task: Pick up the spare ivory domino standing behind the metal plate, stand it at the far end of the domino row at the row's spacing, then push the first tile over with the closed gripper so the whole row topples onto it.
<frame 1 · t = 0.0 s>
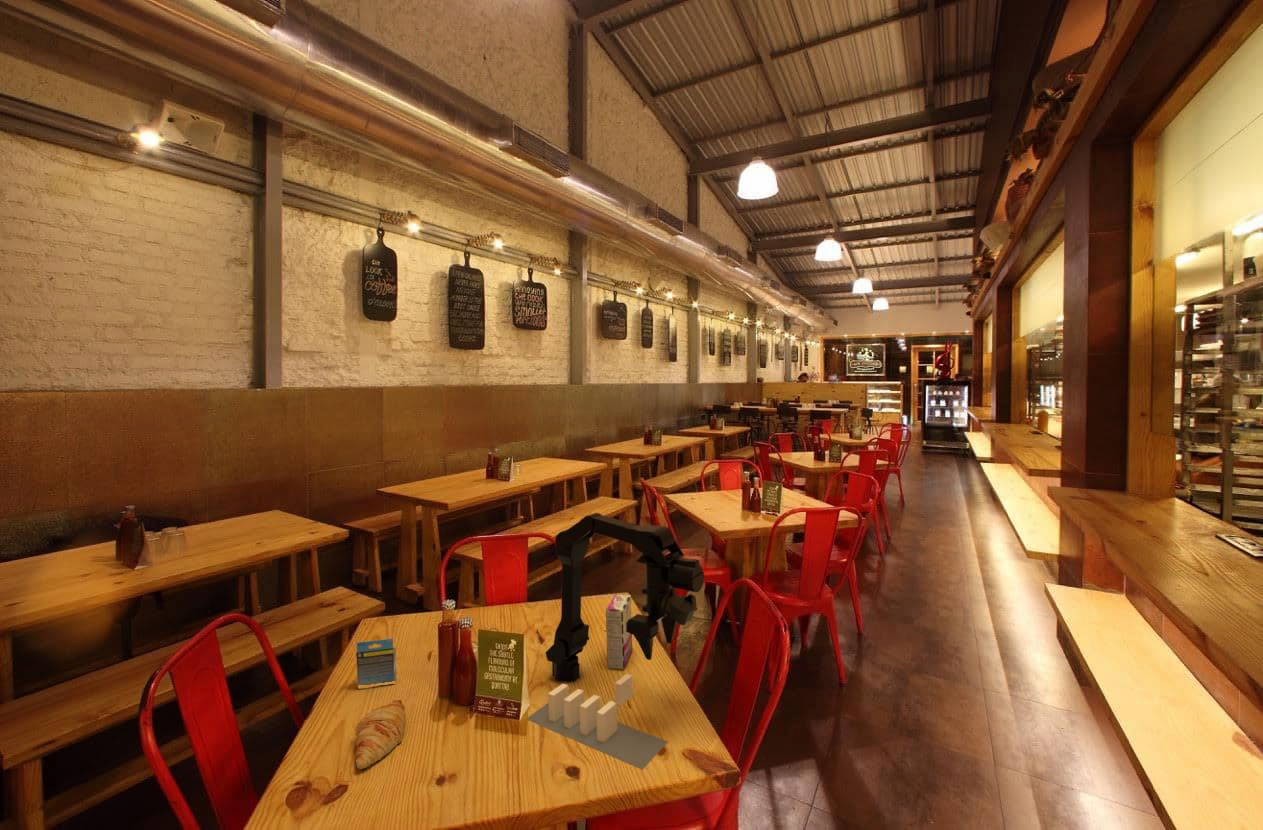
hand: (659, 651, 124), 15 cm above the table, fingers open, 9 cm apart
domino 1: (559, 715, 123), point 1 cm above the table, touching metal plate
domino 3: (590, 728, 118), point 1 cm above the table, touching metal plate
metal plate: (594, 734, 118), on the table
label tape box: (377, 685, 140), on the table
croissant: (380, 742, 117), on the table
domino 4: (607, 735, 116), point 1 cm above the table, touching metal plate
candy bar box: (619, 660, 151), on the table
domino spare: (624, 704, 129), on the table
domino 2: (574, 721, 121), point 1 cm above the table, touching metal plate
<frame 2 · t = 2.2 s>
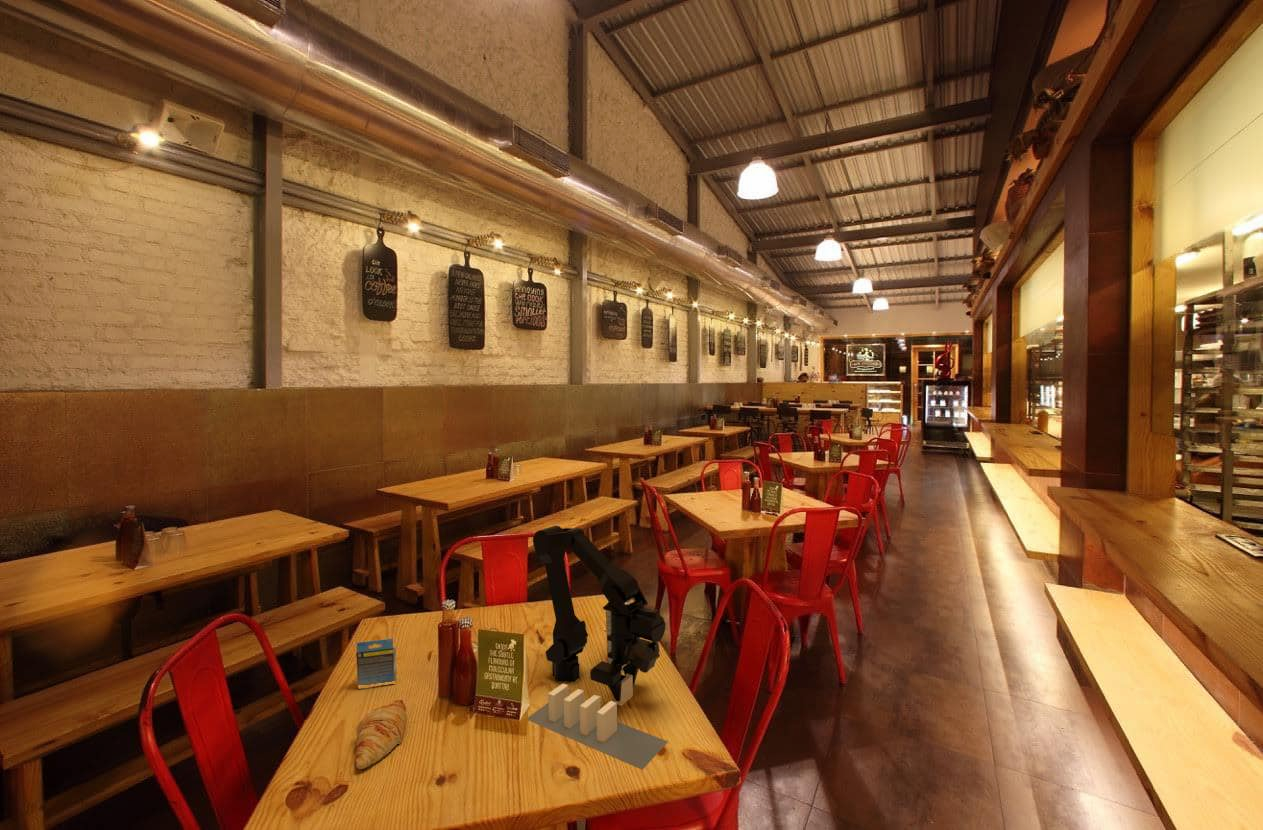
hand: (624, 695, 129), 2 cm above the table, fingers closed on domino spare, 5 cm apart
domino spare: (624, 703, 129), on the table, touching gripper
everything else where it was.
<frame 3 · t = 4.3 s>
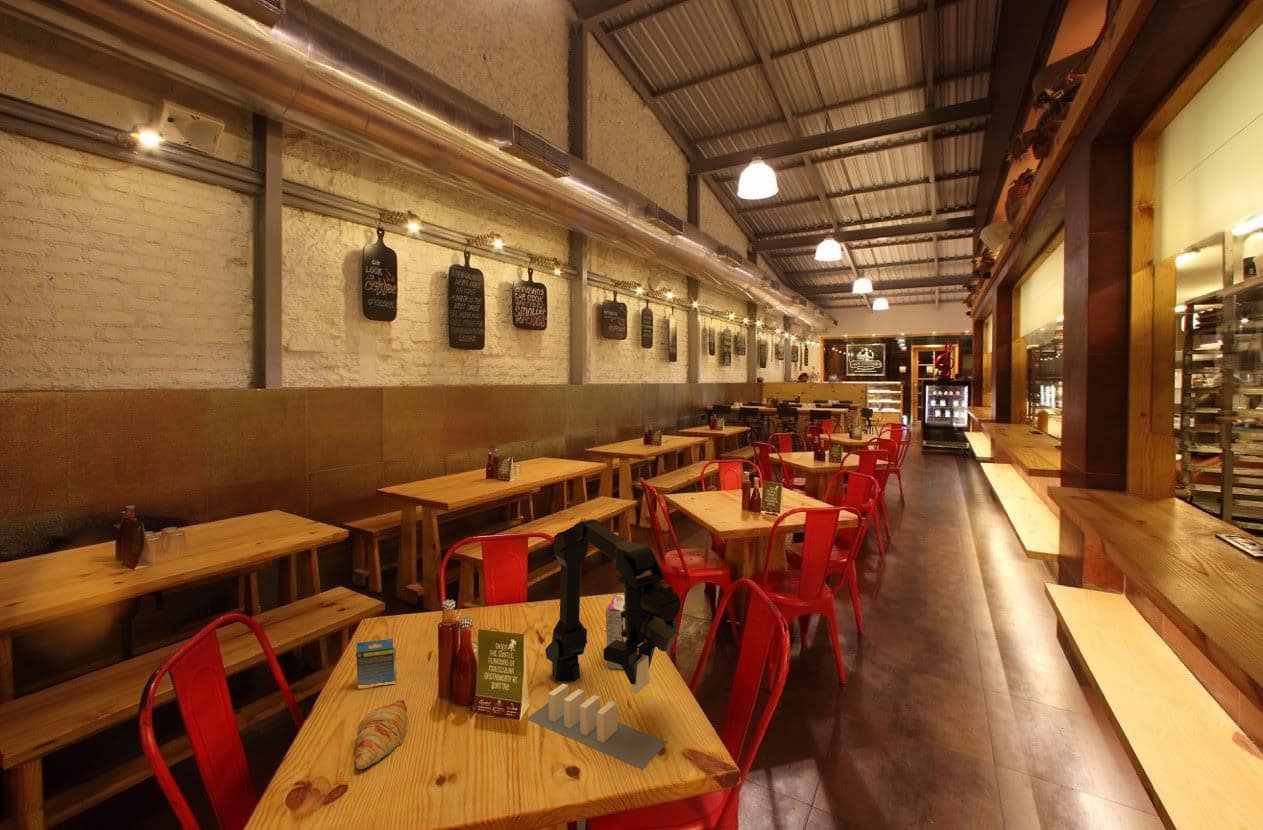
hand: (639, 678, 117), 12 cm above the table, fingers closed on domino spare, 5 cm apart
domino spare: (640, 687, 117), point 10 cm above the table, touching gripper
everything else where it was.
when the fingers open (4 cm above the table, at t = 6.5 s): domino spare drops 1 cm, resting on metal plate.
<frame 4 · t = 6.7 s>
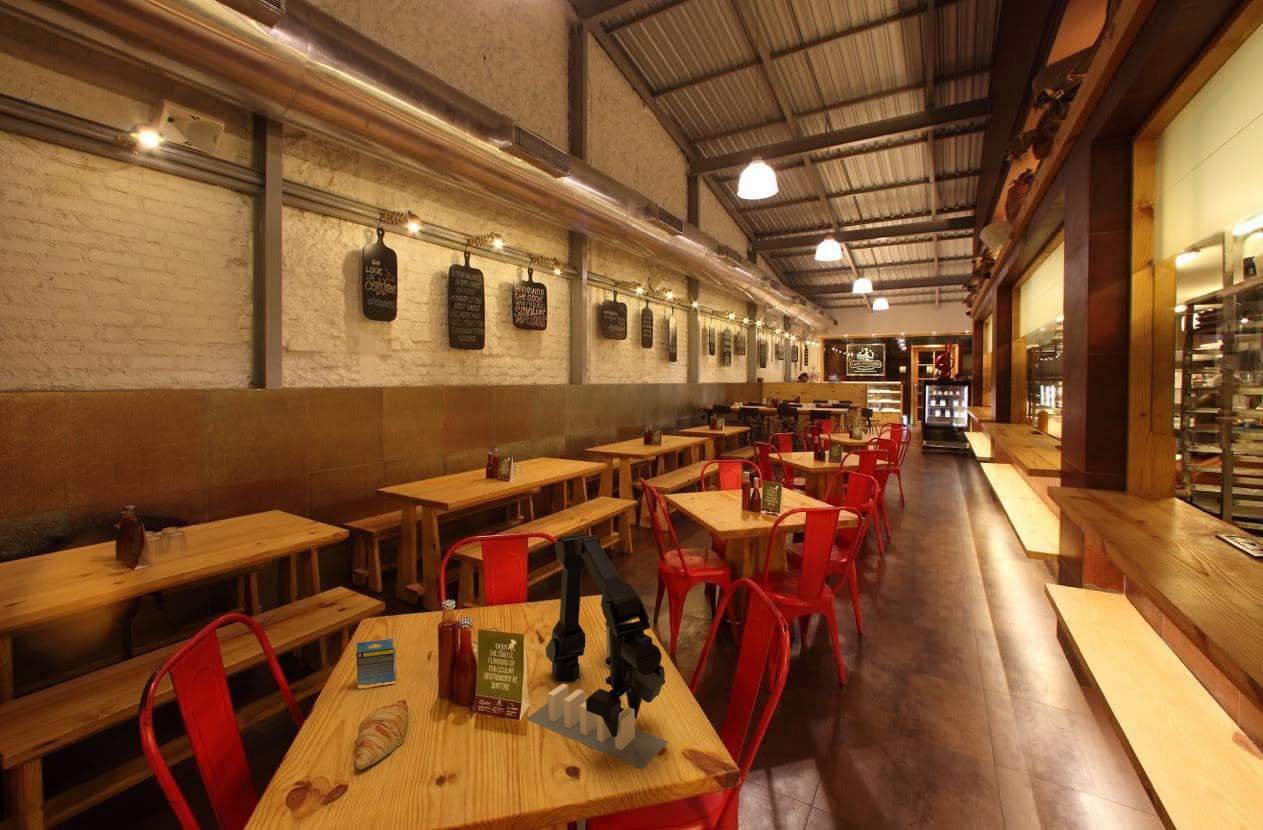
hand: (624, 726, 113), 4 cm above the table, fingers open, 7 cm apart
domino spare: (625, 742, 113), point 1 cm above the table, touching metal plate
everything else where it was.
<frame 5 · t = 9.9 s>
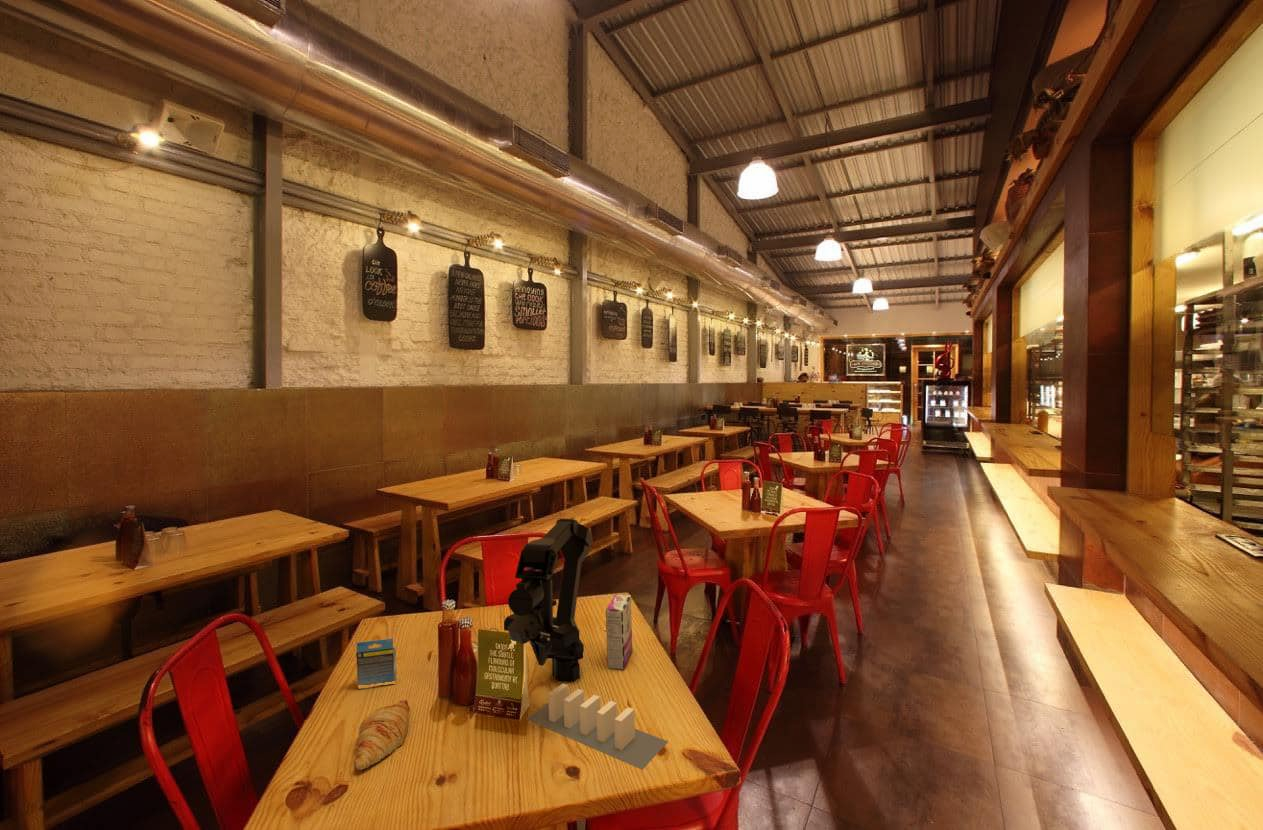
hand: (541, 664, 126), 11 cm above the table, fingers closed
nothing on the table moved.
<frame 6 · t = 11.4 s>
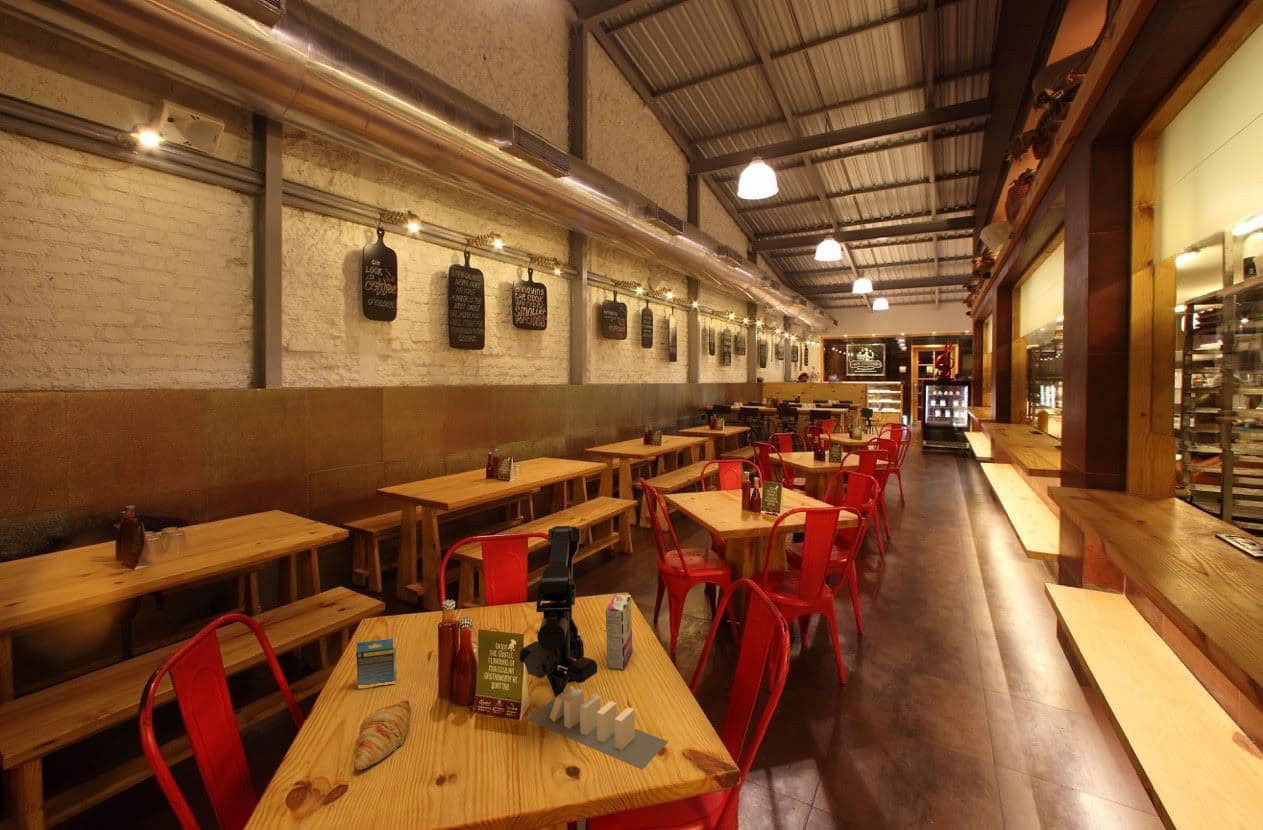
hand: (558, 697, 123), 5 cm above the table, fingers closed
domino 1: (559, 714, 123), point 1 cm above the table, tilted 23°, touching metal plate
everything else where it was.
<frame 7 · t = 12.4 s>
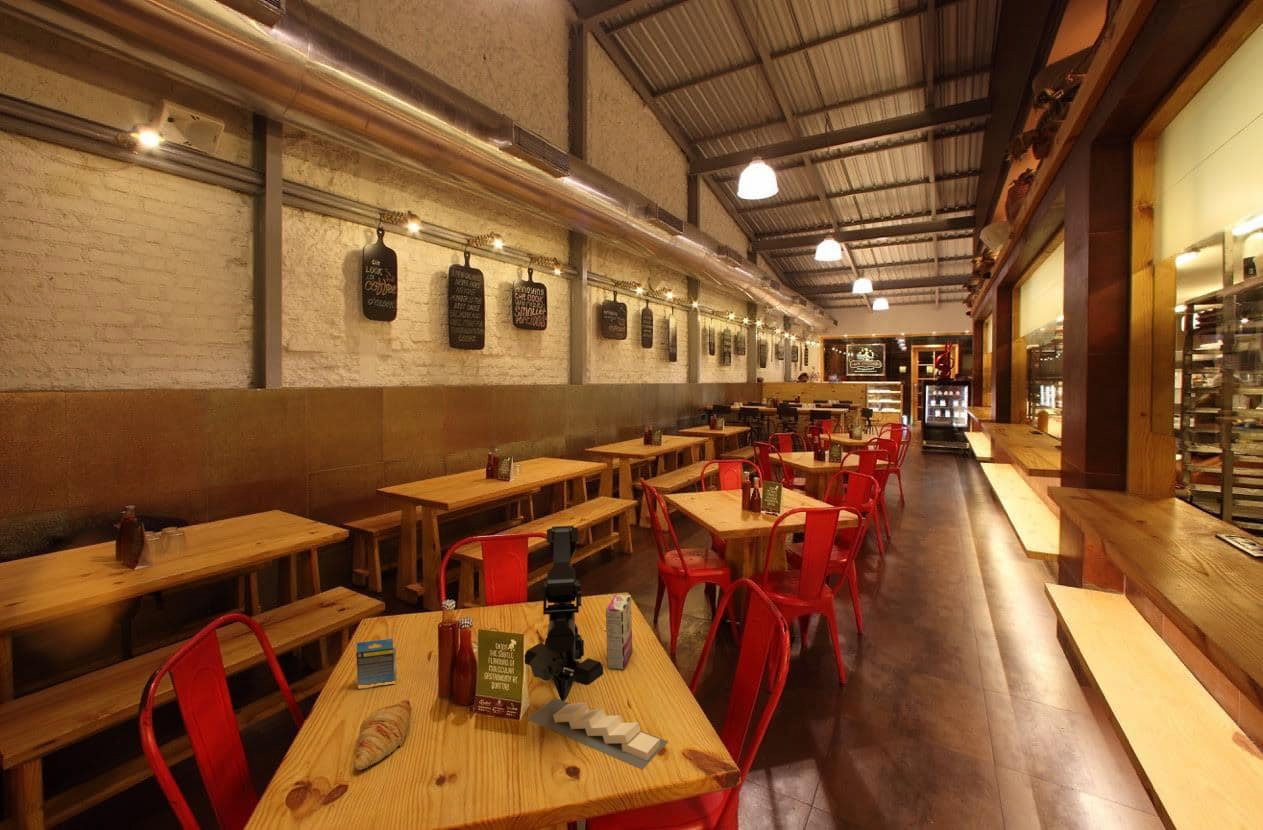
hand: (563, 699, 122), 5 cm above the table, fingers closed
domino 1: (561, 713, 123), point 2 cm above the table, tilted 69°, touching domino 2, metal plate
domino 3: (593, 726, 118), point 2 cm above the table, tilted 70°, touching domino 2, metal plate
domino 4: (610, 733, 115), point 2 cm above the table, tilted 70°, touching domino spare, metal plate
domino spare: (628, 739, 113), point 2 cm above the table, tilted 90°, touching domino 4, metal plate
domino 2: (577, 719, 120), point 2 cm above the table, tilted 69°, touching domino 1, domino 3, metal plate
everything else where it was.
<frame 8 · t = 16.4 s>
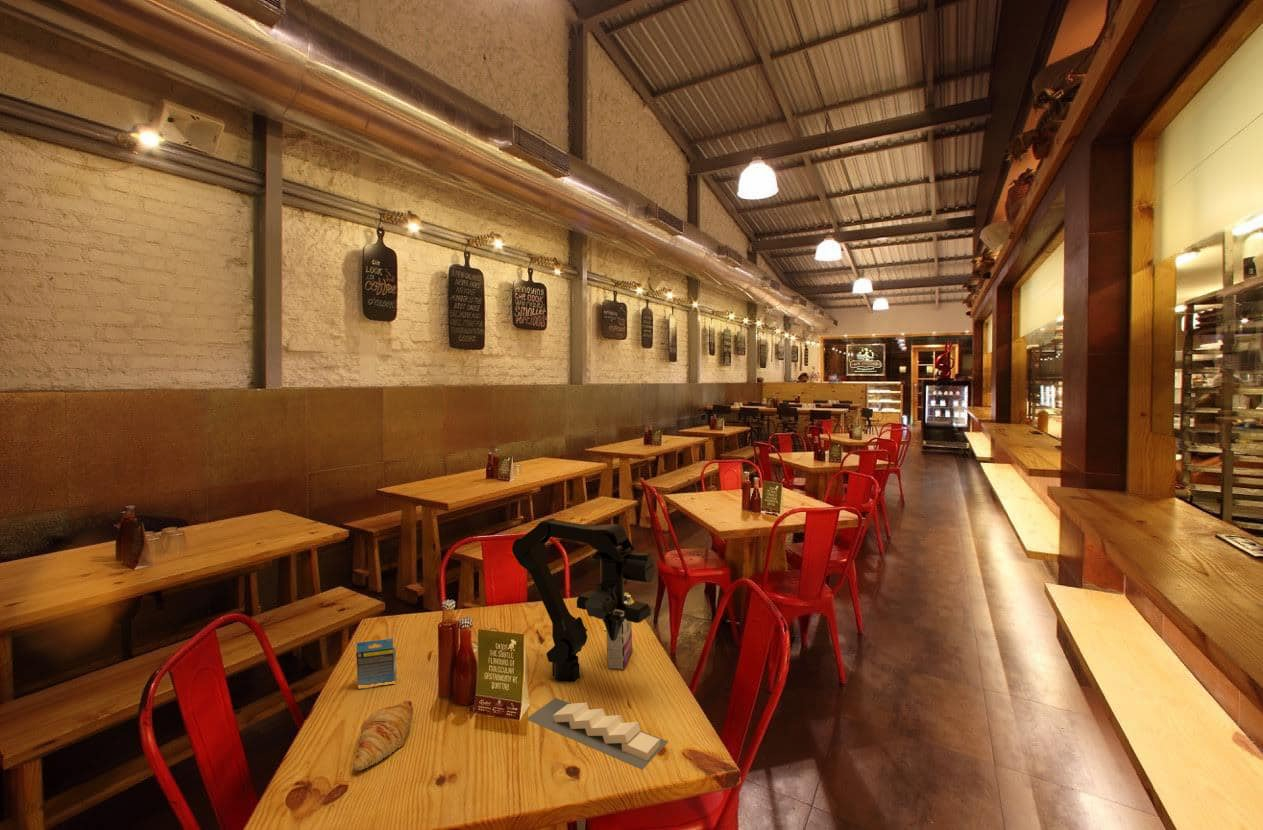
hand: (613, 640, 134), 13 cm above the table, fingers closed
domino 3: (593, 726, 118), point 2 cm above the table, tilted 70°, touching domino 2, domino 4, metal plate
domino 4: (610, 733, 115), point 2 cm above the table, tilted 69°, touching domino 3, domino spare, metal plate
at the end: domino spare tilted 90°; domino 4 tilted 69°; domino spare inside the target area (3.1 cm from its centre), point 1.8 cm above the table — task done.
